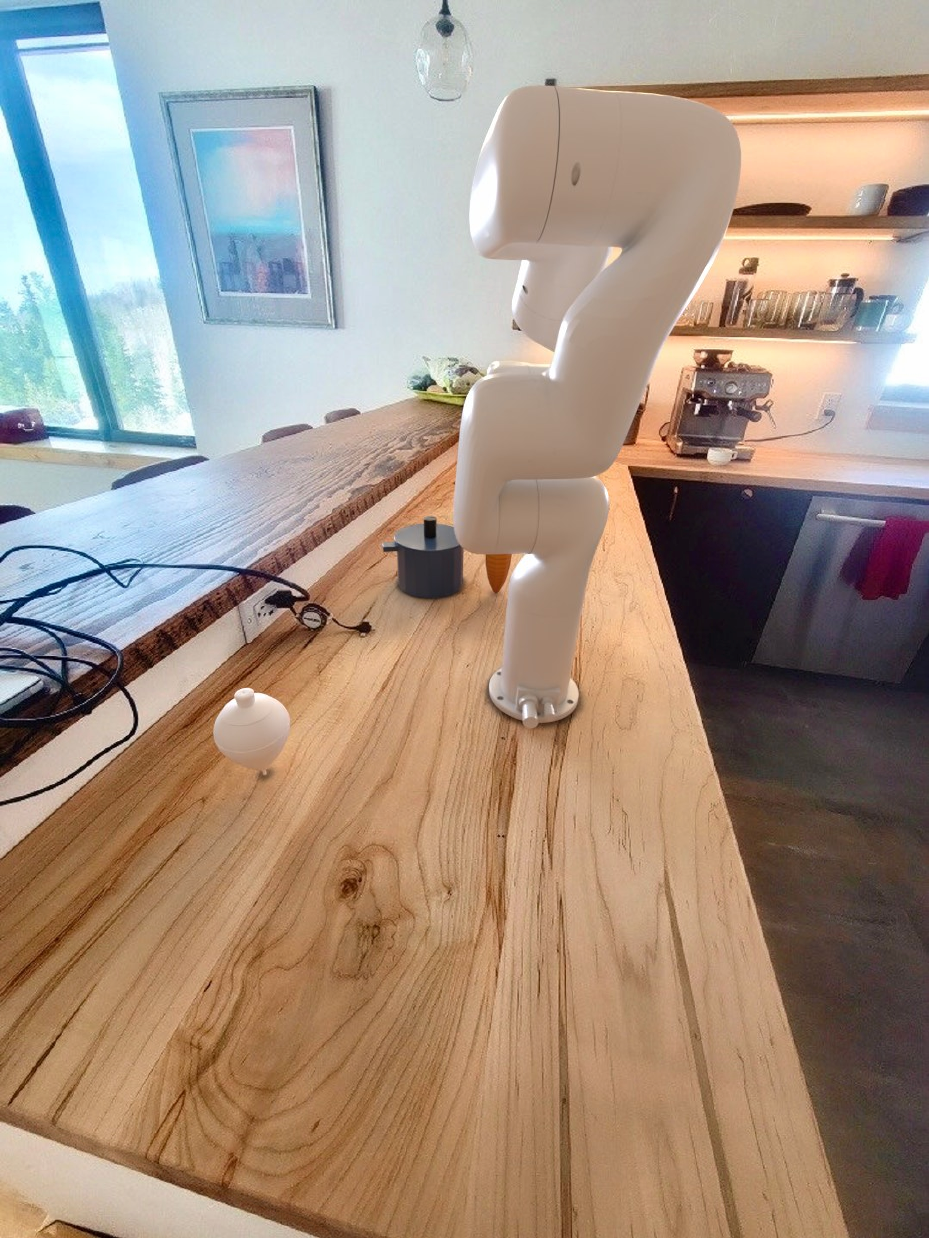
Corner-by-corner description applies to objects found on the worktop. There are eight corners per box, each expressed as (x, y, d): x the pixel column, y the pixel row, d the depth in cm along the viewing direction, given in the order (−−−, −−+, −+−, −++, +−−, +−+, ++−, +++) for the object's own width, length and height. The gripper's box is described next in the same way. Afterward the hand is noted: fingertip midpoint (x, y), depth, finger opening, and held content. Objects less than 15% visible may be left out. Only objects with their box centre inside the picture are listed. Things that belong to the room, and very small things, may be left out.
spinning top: (275, 740, 62) (257, 661, 56) (313, 771, 58) (297, 690, 52) (215, 777, 57) (188, 695, 51) (252, 814, 53) (227, 729, 47)
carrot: (506, 600, 95) (513, 525, 87) (480, 597, 96) (484, 522, 88) (510, 589, 99) (516, 516, 91) (485, 586, 100) (489, 513, 92)
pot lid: (473, 553, 91) (474, 529, 89) (398, 558, 89) (397, 533, 86) (457, 527, 103) (458, 505, 100) (391, 530, 100) (389, 508, 98)
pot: (481, 594, 97) (484, 548, 92) (387, 601, 93) (385, 554, 88) (467, 566, 107) (468, 524, 102) (382, 572, 104) (379, 529, 99)
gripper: (453, 447, 80) (451, 553, 89) (560, 452, 80) (547, 557, 89) (456, 438, 86) (454, 537, 96) (555, 442, 86) (543, 541, 95)
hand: (499, 546), depth 92 cm, fingers closed on carrot, 4 cm apart
